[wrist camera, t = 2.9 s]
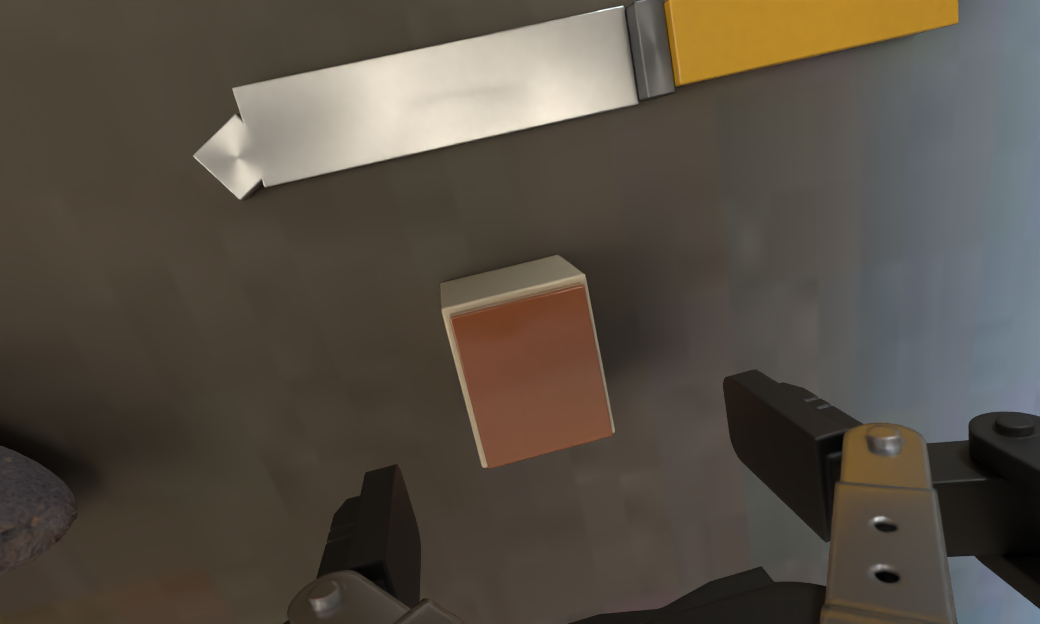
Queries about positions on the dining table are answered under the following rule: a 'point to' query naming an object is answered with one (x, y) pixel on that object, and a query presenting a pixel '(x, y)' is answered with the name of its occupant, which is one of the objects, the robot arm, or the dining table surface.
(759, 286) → the dining table surface
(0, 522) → the perforated stone tool
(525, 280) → the salt cellar
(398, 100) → the knife
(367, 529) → the robot arm
